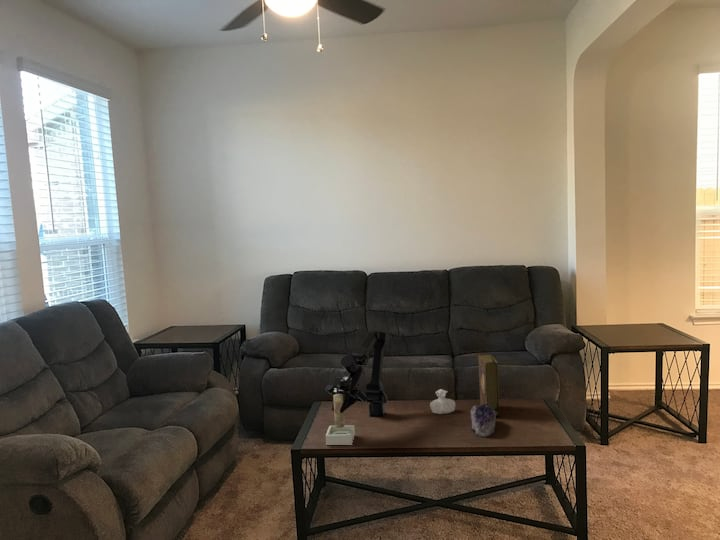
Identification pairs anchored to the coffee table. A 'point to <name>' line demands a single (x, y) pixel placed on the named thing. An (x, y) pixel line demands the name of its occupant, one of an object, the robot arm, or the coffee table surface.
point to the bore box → (340, 435)
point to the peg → (338, 410)
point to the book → (489, 382)
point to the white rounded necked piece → (442, 403)
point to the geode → (483, 420)
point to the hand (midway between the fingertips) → (336, 411)
